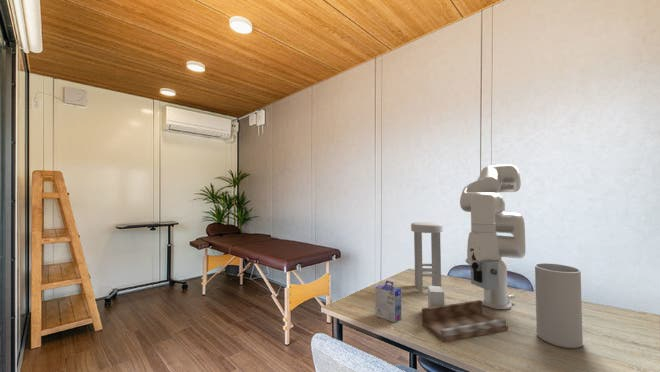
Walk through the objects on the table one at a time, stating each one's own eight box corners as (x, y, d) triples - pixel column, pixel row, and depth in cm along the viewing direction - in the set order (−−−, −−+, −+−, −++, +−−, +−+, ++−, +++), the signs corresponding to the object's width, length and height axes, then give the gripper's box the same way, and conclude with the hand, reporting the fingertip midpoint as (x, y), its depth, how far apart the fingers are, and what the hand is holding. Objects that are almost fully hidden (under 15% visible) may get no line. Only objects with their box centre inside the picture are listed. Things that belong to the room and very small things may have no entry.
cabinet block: (482, 281, 103) (481, 257, 103) (501, 289, 96) (500, 262, 96) (471, 283, 102) (470, 258, 102) (489, 291, 94) (489, 263, 94)
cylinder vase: (569, 353, 91) (567, 274, 91) (528, 335, 102) (527, 265, 103) (590, 344, 96) (588, 270, 96) (549, 328, 107) (548, 261, 108)
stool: (410, 284, 160) (409, 221, 161) (439, 285, 158) (438, 222, 159) (414, 293, 145) (413, 225, 146) (446, 295, 143) (445, 225, 143)
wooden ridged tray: (480, 315, 119) (479, 300, 119) (507, 330, 106) (507, 312, 106) (422, 325, 111) (421, 308, 111) (444, 342, 98) (444, 323, 98)
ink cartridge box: (402, 318, 117) (401, 283, 117) (395, 323, 113) (395, 286, 113) (381, 311, 124) (381, 278, 124) (374, 316, 119) (374, 281, 120)
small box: (444, 318, 117) (444, 292, 117) (430, 317, 118) (430, 291, 118) (441, 310, 125) (440, 286, 125) (427, 309, 126) (427, 285, 126)
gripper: (492, 225, 106) (494, 274, 105) (455, 228, 101) (456, 280, 100) (511, 228, 98) (512, 281, 98) (471, 231, 93) (473, 286, 93)
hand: (484, 280), depth 99 cm, fingers closed on cabinet block, 5 cm apart
